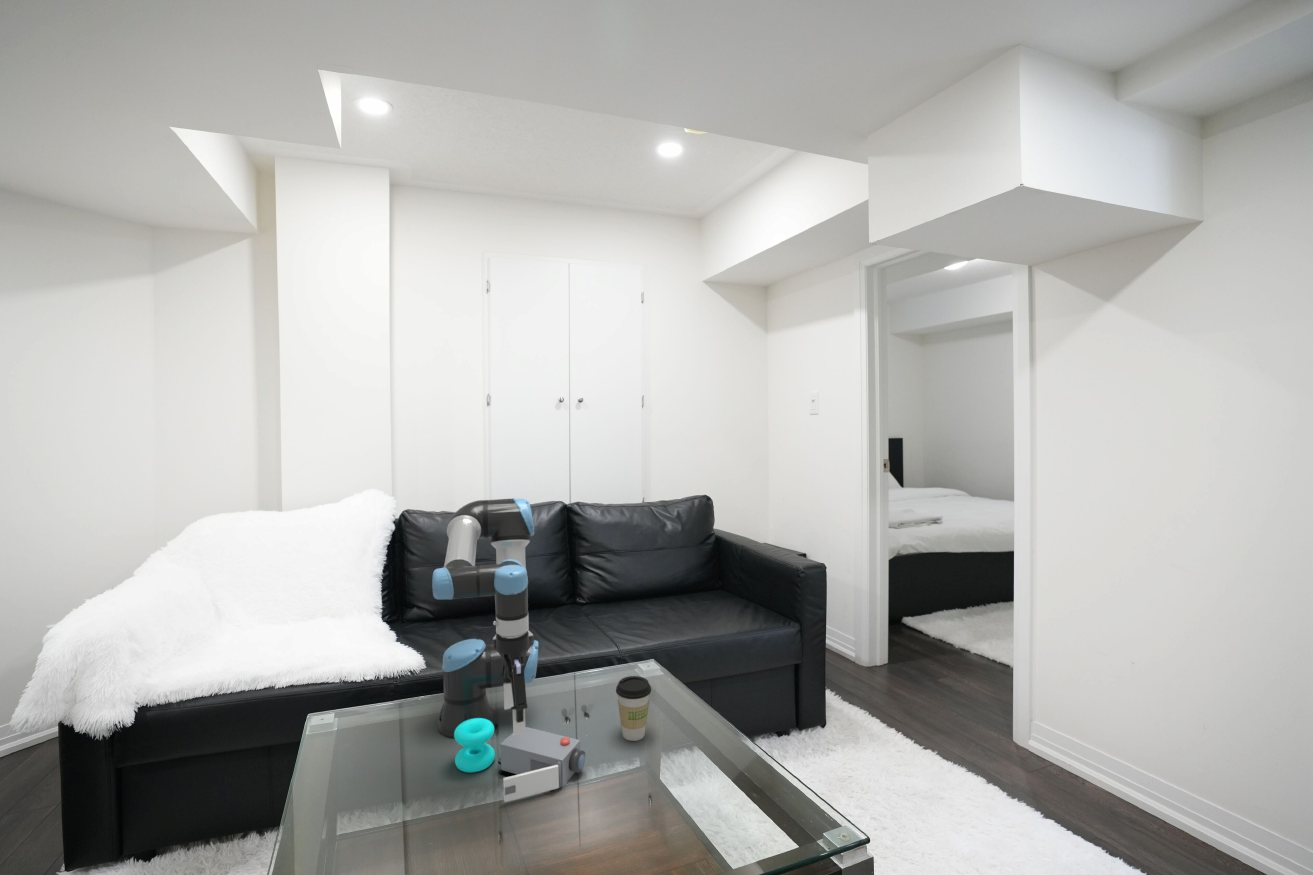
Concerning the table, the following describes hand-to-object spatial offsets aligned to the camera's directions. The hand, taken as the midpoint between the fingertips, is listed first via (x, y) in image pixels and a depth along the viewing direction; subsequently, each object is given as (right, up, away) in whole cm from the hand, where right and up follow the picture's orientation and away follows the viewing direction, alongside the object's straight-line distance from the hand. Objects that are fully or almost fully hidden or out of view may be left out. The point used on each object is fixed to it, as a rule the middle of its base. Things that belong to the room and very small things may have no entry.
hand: (514, 719), depth 152 cm
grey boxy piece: (+5, -17, +10) cm, 21 cm away
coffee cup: (+28, -16, +25) cm, 41 cm away
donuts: (-13, -17, +13) cm, 25 cm away
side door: (+5, -18, 0) cm, 18 cm away
